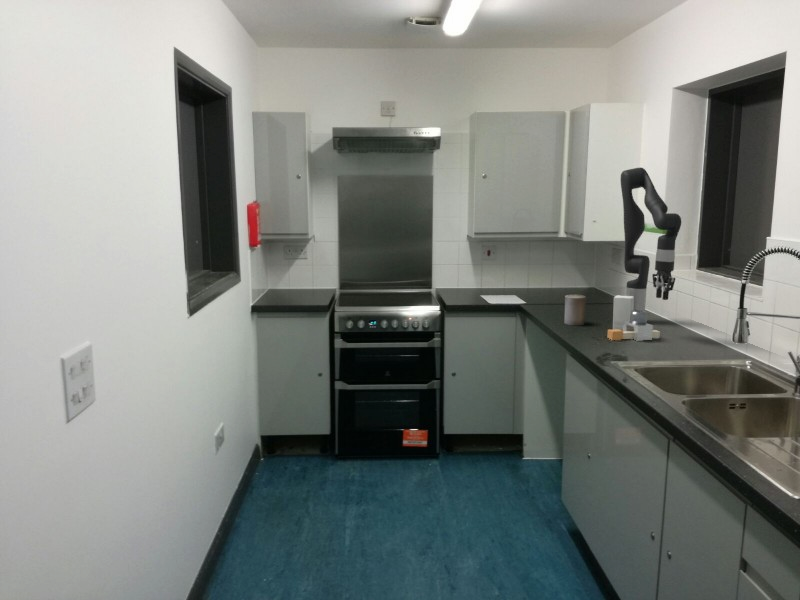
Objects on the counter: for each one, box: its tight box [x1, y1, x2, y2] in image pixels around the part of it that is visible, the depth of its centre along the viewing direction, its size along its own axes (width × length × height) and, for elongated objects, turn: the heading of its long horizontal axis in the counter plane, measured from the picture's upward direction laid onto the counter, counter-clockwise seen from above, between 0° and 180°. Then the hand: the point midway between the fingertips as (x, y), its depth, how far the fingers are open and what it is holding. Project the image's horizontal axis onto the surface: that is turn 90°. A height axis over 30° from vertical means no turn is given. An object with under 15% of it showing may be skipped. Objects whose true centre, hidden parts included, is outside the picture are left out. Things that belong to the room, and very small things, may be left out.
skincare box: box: [612, 294, 634, 331], centre depth 278 cm, size 8×7×16 cm
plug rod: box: [606, 328, 661, 341], centre depth 261 cm, size 4×23×4 cm, turn 101°
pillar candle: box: [563, 294, 587, 327], centre depth 291 cm, size 10×10×15 cm
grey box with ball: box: [622, 310, 654, 342], centre depth 262 cm, size 12×7×12 cm, turn 9°
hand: (661, 298), depth 262 cm, fingers open, 4 cm apart
